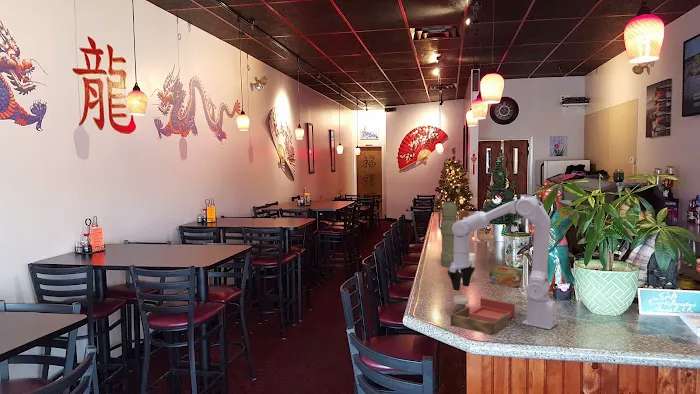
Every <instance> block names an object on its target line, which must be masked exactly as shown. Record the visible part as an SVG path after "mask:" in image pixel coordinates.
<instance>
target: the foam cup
mask: <svg viewBox="0 0 700 394" xmlns="http://www.w3.org/2000/svg"><path fill="white" fill-rule="evenodd" d="M469 261H473V266H471V267H474V266H475V261H476V254H475V253H474V252H469ZM474 268H475V267H474ZM459 272H461V271H460V270H459ZM472 279H473V275H472V276H471V280H470V283H471V282H472ZM461 283H462V278H461Z"/></svg>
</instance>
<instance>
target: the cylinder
mask: <svg viewBox="0 0 700 394" xmlns="http://www.w3.org/2000/svg"><path fill="white" fill-rule="evenodd" d="M466 305H467V304H456V312H458V311H460V310H462V309H464V308H466V307H467V306H466Z"/></svg>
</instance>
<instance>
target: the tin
mask: <svg viewBox="0 0 700 394" xmlns="http://www.w3.org/2000/svg"><path fill="white" fill-rule="evenodd" d="M488 275H489V278H490V280H491V282H492V283H493V284H494V285H497V286H498V285H499V286H505V287H509V288H510V287H511V288H514V287H517V286H519V285H520V284H521V283H522V281H523V276H522V273H521V271H520V270H518V269H517V268H514V267H507V266H500V265H499V266H494V267H491V269H490V270H489V274H488Z"/></svg>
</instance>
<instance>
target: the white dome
mask: <svg viewBox="0 0 700 394" xmlns="http://www.w3.org/2000/svg"><path fill="white" fill-rule="evenodd" d="M469 297H470V296H467V295H462V294H461V295H460V294H458V295H454V296H453V303H454V304H456V305H457V304H466V305H467V304H469V303H470V302H469Z"/></svg>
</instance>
